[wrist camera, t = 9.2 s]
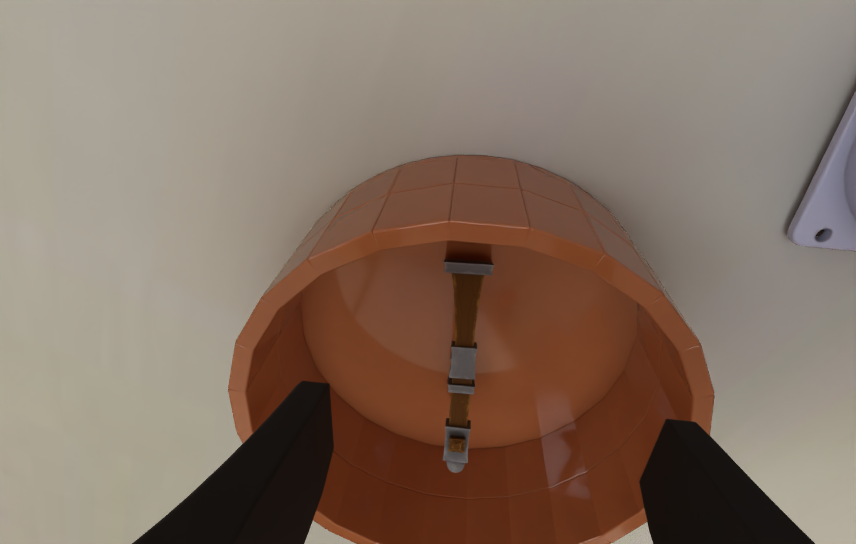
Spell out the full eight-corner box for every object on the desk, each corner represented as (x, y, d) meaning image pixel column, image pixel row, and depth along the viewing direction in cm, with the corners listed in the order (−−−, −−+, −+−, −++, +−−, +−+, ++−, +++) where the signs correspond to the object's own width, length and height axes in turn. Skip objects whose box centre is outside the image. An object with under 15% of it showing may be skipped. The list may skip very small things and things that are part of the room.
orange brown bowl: (704, 174, 16) (810, 253, 11) (597, 464, 24) (631, 591, 19) (275, 136, 17) (187, 194, 12) (304, 429, 25) (258, 543, 19)
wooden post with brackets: (436, 428, 22) (429, 481, 17) (446, 254, 21) (442, 262, 16) (475, 431, 21) (479, 486, 17) (487, 257, 21) (495, 265, 16)
